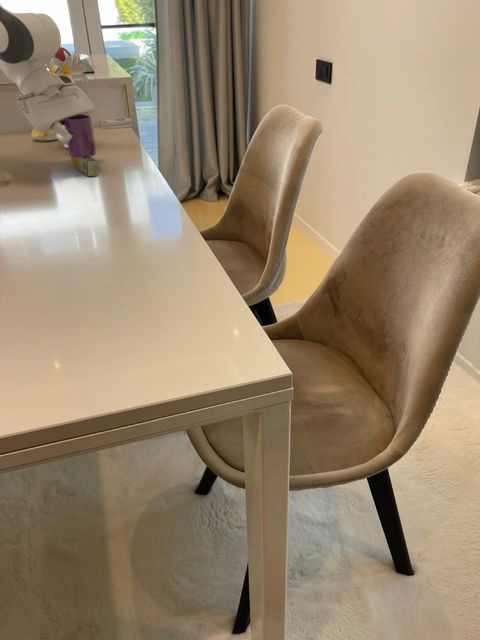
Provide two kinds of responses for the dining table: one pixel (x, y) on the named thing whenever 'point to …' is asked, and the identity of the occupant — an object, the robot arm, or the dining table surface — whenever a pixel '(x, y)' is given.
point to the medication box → (85, 165)
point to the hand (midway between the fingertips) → (82, 135)
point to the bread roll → (44, 135)
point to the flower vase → (67, 74)
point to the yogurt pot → (80, 136)
